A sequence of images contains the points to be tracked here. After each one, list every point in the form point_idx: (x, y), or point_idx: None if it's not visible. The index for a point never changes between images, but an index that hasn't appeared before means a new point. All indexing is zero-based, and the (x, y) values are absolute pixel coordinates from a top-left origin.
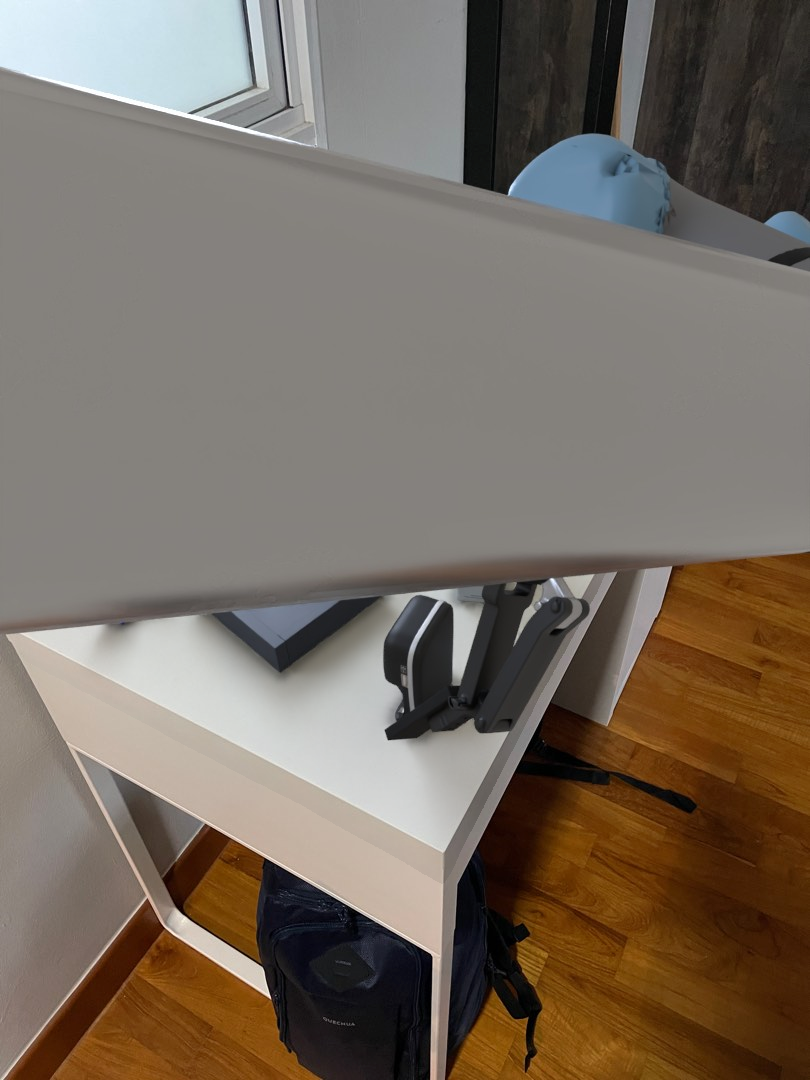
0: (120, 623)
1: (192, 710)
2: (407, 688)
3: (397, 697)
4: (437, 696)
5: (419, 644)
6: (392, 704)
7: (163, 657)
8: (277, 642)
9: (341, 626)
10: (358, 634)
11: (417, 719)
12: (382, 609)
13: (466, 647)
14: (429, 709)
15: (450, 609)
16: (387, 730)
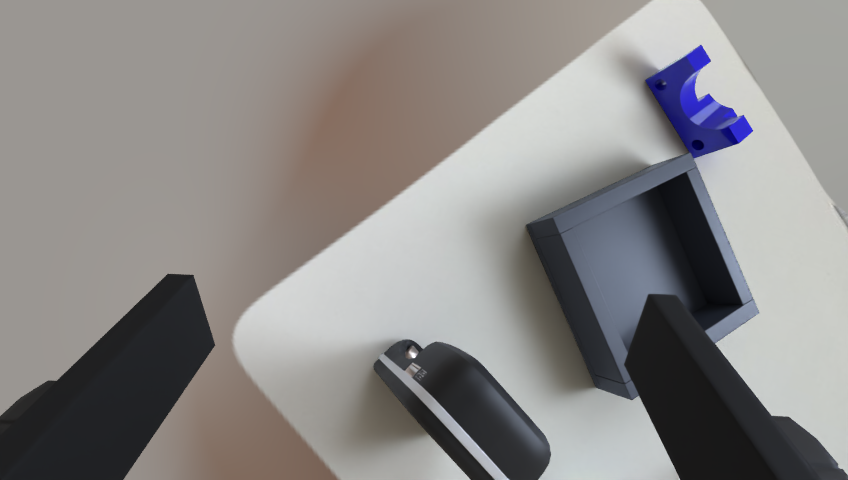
0: (648, 78)
1: (510, 116)
2: (405, 369)
3: None
4: (13, 450)
5: (437, 423)
6: None
7: (590, 108)
8: (560, 223)
9: (567, 319)
10: (549, 336)
11: (86, 354)
12: (576, 379)
13: None
14: (41, 401)
15: None
16: (183, 280)
